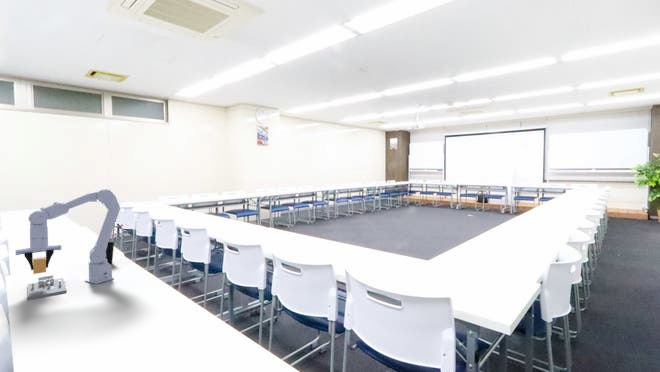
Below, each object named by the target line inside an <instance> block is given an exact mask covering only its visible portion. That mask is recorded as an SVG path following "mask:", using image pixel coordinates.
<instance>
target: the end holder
mask: <svg viewBox="0 0 660 372" xmlns="http://www.w3.org/2000/svg"><path fill="white" fill-rule="evenodd" d="M44 280H45V281H46V285H48V282H50V285H51V284H54V280H55V278H54V275H53V274H50V275H45V276H40V277H39V276H38V282H39V287H40V286H43V281H44Z"/></svg>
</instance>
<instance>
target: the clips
mask: <svg viewBox="0 0 660 372" xmlns="http://www.w3.org/2000/svg"><path fill="white" fill-rule="evenodd" d="M34 283H35V282H31V284H32V289H34ZM43 286H44V287H46V281H45V280H44V281H43ZM60 286H61V280H59V287H60ZM49 288H50V282H48V289H49Z"/></svg>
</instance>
